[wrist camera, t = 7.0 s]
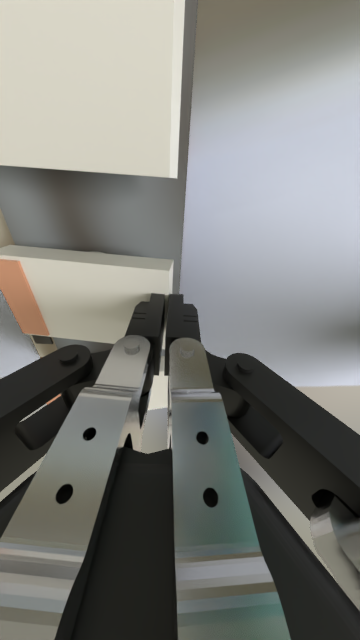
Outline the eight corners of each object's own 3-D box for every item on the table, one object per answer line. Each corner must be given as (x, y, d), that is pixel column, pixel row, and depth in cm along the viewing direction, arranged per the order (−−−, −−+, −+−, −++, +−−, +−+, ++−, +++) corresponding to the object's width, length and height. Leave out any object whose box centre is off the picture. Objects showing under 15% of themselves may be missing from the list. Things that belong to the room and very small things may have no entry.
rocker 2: (175, 255, 11) (168, 272, 9) (171, 326, 14) (166, 351, 12) (21, 241, 11) (-20, 254, 9) (48, 313, 14) (22, 335, 12)
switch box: (194, 17, 10) (204, -105, 6) (173, 360, 25) (172, 399, 21) (-124, -16, 10) (-375, -177, 5) (46, 354, 25) (17, 393, 20)
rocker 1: (190, -25, 6) (175, -136, 4) (180, 178, 9) (168, 177, 7) (-69, -19, 7) (-194, -107, 5) (-1, 165, 10) (-61, 160, 8)
